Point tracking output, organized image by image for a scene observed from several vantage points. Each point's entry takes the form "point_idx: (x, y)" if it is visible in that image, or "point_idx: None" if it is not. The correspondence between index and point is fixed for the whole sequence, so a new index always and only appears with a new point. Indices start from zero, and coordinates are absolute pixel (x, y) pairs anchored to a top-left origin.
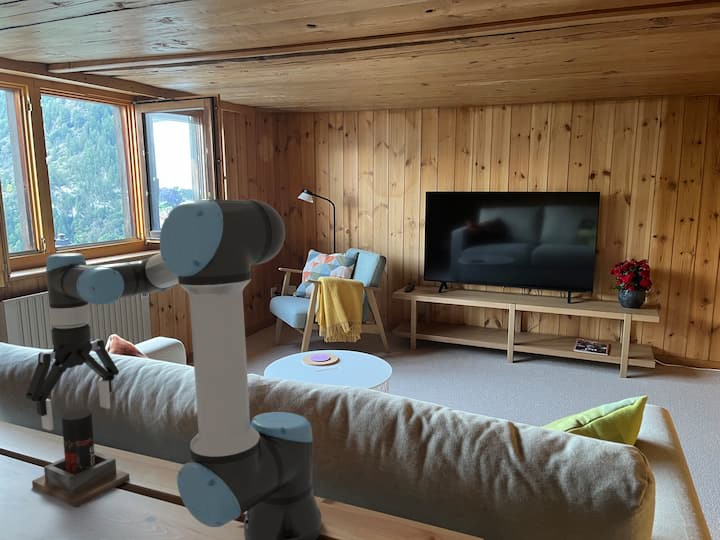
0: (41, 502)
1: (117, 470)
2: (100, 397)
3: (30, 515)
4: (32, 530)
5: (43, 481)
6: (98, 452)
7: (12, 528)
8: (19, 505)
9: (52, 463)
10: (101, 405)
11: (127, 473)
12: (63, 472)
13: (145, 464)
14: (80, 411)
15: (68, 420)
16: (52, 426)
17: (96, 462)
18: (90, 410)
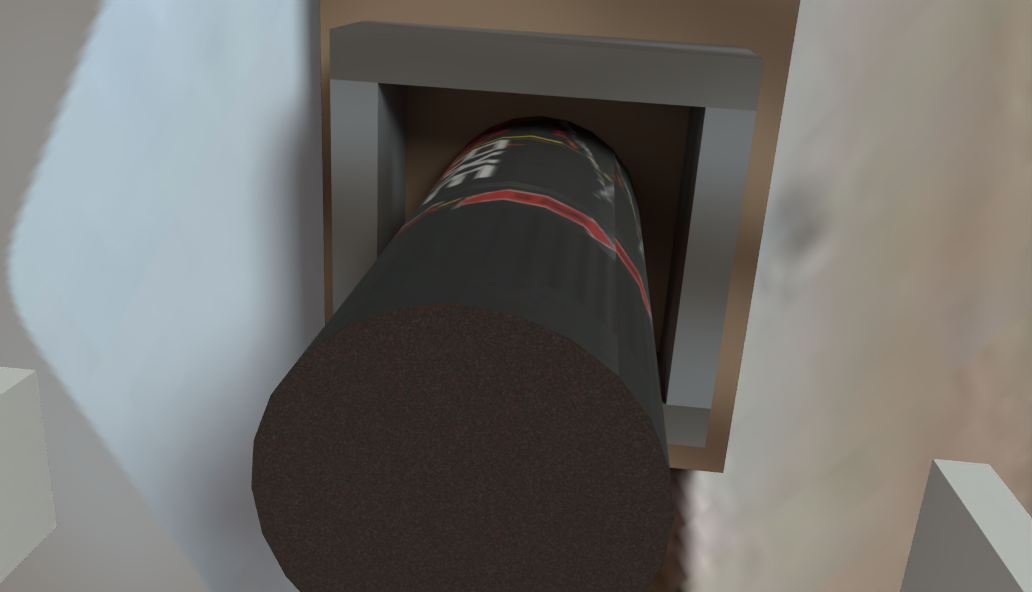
0: (259, 170)
1: (726, 369)
2: (996, 586)
3: (148, 242)
4: (89, 381)
5: (359, 5)
6: (736, 234)
7: (30, 270)
8: (160, 71)
9: (404, 39)
10: (936, 504)
11: (721, 459)
12: (358, 268)
13: (941, 391)
14: (562, 463)
15: (273, 546)
16: (23, 550)
17: (680, 238)
18: (661, 561)
